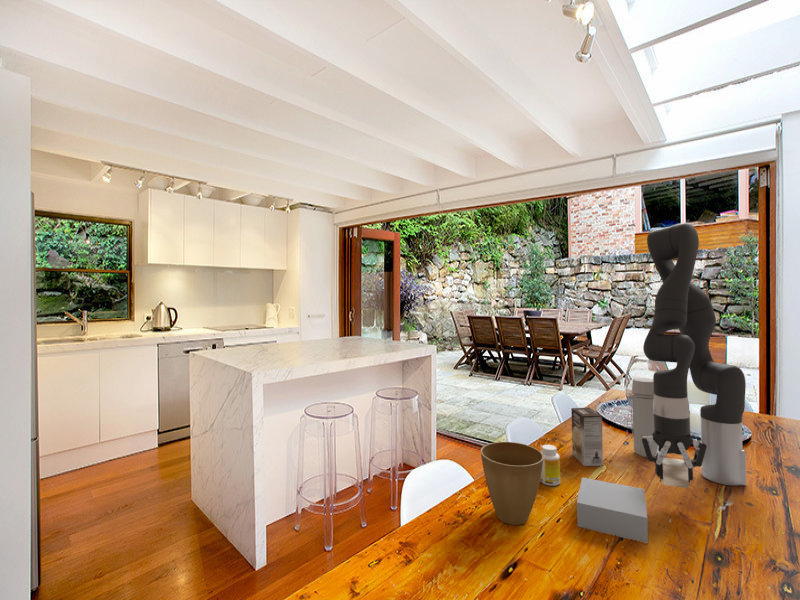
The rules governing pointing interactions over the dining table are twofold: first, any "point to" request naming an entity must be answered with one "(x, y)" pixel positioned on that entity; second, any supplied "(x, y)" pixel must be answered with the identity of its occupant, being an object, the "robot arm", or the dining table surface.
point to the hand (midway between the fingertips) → (673, 479)
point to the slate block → (612, 509)
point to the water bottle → (642, 414)
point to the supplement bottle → (550, 466)
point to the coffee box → (587, 436)
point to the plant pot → (512, 479)
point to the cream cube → (675, 473)
